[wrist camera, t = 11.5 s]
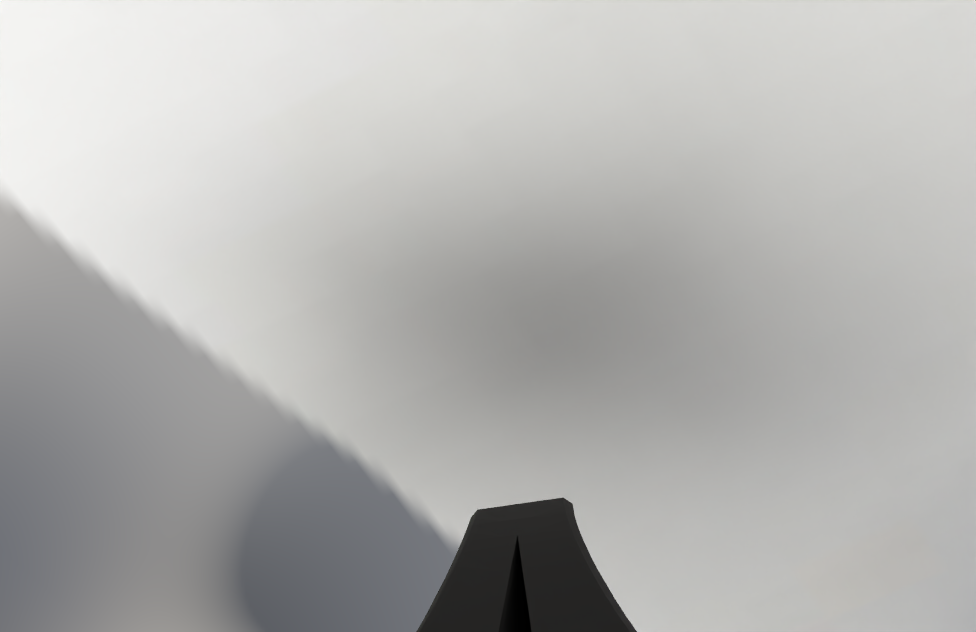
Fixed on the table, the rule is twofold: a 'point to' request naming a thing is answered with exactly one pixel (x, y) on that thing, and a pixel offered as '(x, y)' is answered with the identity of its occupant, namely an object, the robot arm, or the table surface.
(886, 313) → the table surface
